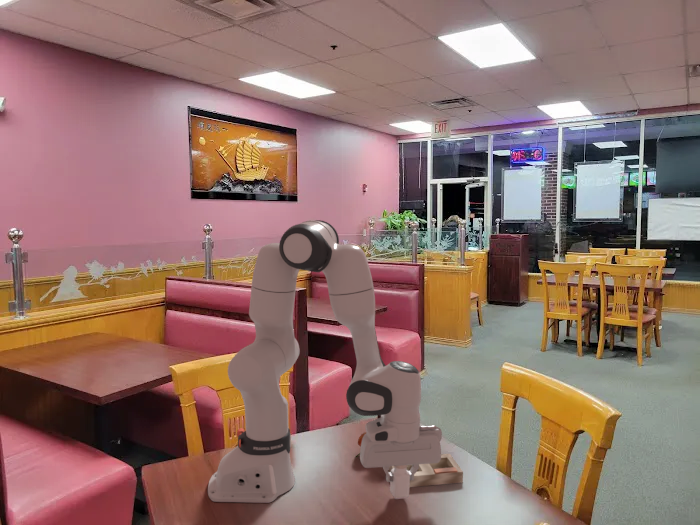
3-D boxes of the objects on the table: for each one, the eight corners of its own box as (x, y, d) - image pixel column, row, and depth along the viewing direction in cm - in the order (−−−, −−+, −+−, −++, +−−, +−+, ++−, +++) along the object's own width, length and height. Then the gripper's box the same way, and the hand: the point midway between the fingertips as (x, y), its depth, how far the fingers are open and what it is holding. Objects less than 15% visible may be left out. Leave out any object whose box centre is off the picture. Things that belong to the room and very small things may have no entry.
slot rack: (396, 488, 134) (397, 476, 134) (387, 468, 144) (387, 457, 144) (462, 482, 137) (463, 470, 137) (449, 463, 147) (449, 452, 146)
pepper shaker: (389, 491, 131) (390, 456, 130) (403, 489, 132) (405, 454, 131) (394, 500, 127) (396, 464, 126) (409, 498, 128) (411, 462, 127)
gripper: (437, 419, 132) (435, 470, 134) (359, 423, 129) (357, 476, 130) (446, 430, 126) (443, 483, 128) (364, 435, 122) (362, 490, 124)
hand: (399, 480), depth 129 cm, fingers closed on pepper shaker, 4 cm apart
